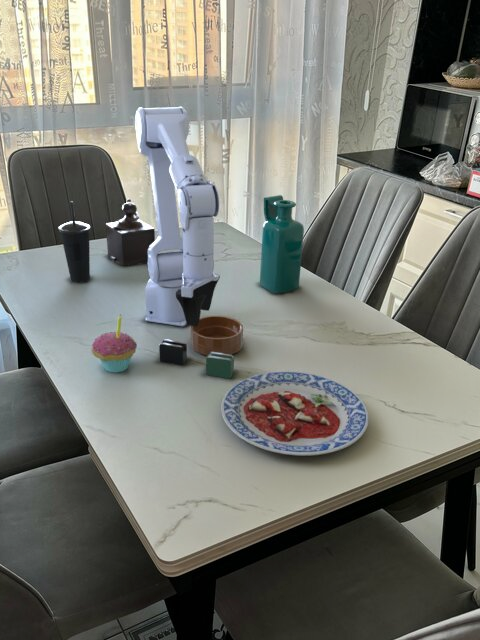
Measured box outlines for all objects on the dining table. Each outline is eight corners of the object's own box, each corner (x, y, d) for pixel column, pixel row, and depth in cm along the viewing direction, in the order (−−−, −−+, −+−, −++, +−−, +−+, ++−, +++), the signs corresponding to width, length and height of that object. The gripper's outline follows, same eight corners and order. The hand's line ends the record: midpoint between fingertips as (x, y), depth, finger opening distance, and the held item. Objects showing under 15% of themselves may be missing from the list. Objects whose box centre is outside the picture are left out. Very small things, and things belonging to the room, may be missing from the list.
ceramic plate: (259, 480, 93) (260, 465, 91) (199, 395, 112) (199, 382, 111) (396, 444, 102) (399, 429, 100) (319, 371, 121) (321, 358, 120)
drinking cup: (101, 277, 159) (94, 200, 148) (80, 287, 153) (71, 207, 142) (80, 271, 162) (71, 195, 151) (59, 280, 156) (48, 201, 145)
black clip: (159, 361, 122) (158, 343, 120) (164, 356, 124) (163, 338, 122) (182, 365, 121) (182, 347, 119) (187, 359, 123) (186, 341, 121)
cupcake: (144, 361, 122) (141, 307, 116) (124, 381, 116) (120, 325, 109) (107, 353, 125) (101, 299, 118) (85, 373, 118) (78, 317, 111)
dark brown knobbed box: (104, 256, 172) (98, 191, 162) (139, 249, 178) (135, 186, 168) (129, 273, 162) (125, 205, 152) (165, 266, 167) (163, 200, 157)
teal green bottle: (301, 288, 157) (310, 203, 144) (276, 295, 152) (282, 207, 140) (278, 276, 163) (284, 193, 151) (253, 282, 159) (257, 197, 147)
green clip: (205, 374, 119) (206, 356, 116) (209, 368, 121) (209, 350, 118) (230, 379, 118) (230, 360, 115) (233, 372, 120) (234, 354, 117)
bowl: (183, 353, 126) (183, 334, 123) (200, 331, 135) (200, 312, 132) (234, 362, 123) (235, 342, 121) (247, 338, 132) (248, 319, 130)
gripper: (207, 267, 106) (207, 335, 114) (229, 241, 118) (227, 305, 125) (169, 262, 108) (171, 330, 115) (194, 237, 119) (195, 301, 127)
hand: (198, 317), depth 120 cm, fingers open, 7 cm apart
